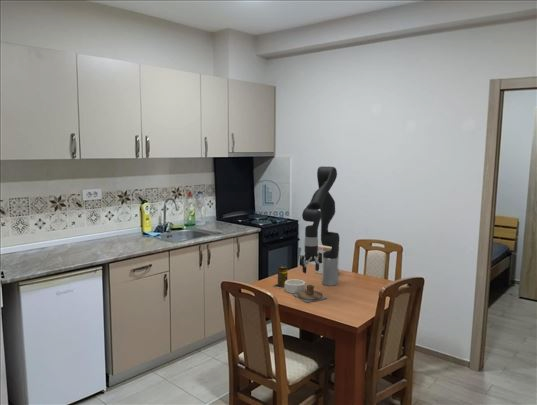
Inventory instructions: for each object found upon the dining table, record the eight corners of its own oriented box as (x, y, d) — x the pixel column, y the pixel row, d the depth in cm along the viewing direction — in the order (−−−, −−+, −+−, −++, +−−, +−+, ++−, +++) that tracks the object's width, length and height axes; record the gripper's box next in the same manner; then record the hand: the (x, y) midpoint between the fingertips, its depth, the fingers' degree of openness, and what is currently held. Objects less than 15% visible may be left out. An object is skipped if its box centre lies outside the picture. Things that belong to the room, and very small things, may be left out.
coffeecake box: (338, 274, 289) (339, 246, 287) (333, 277, 284) (334, 248, 281) (319, 270, 298) (320, 243, 296) (314, 272, 293) (315, 245, 291)
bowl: (297, 286, 263) (297, 278, 263) (308, 291, 253) (309, 283, 252) (281, 289, 257) (281, 281, 257) (292, 294, 247) (292, 286, 246)
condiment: (290, 286, 262) (290, 267, 261) (278, 288, 258) (279, 269, 256) (283, 283, 268) (283, 265, 267) (272, 285, 264) (272, 266, 262)
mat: (312, 291, 253) (312, 290, 253) (327, 299, 241) (327, 297, 241) (293, 295, 246) (293, 294, 246) (306, 303, 234) (306, 301, 234)
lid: (312, 290, 253) (313, 280, 252) (327, 298, 241) (327, 287, 240) (293, 294, 246) (293, 283, 245) (306, 302, 234) (307, 291, 233)
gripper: (317, 241, 246) (316, 268, 249) (297, 244, 239) (296, 271, 242) (325, 244, 240) (324, 271, 242) (304, 247, 233) (304, 275, 235)
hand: (310, 271), depth 242 cm, fingers open, 8 cm apart
